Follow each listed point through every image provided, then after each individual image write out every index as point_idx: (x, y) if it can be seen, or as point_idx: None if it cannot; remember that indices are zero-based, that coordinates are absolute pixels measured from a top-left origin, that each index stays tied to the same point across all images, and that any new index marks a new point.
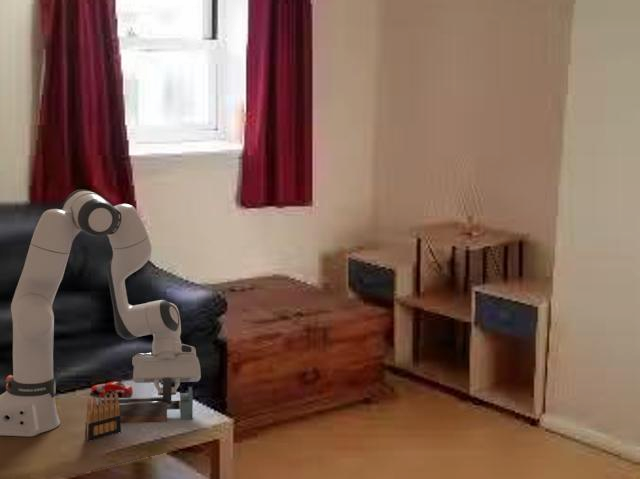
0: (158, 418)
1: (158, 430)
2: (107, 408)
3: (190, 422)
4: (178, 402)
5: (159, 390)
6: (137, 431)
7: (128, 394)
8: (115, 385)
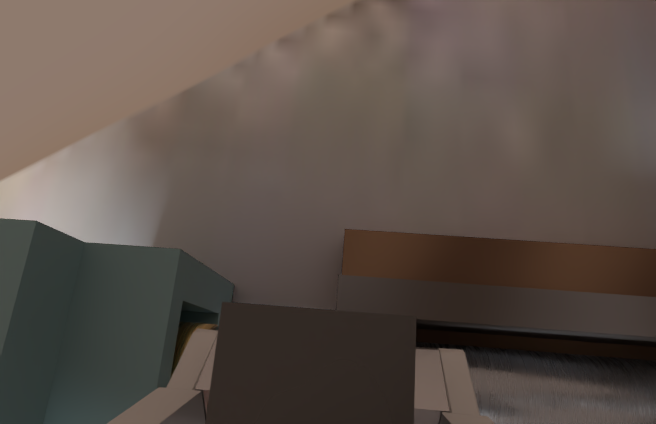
0: (416, 235)
1: (417, 96)
2: None
3: (172, 210)
4: None
5: (447, 370)
6: (564, 97)
7: None
8: None
